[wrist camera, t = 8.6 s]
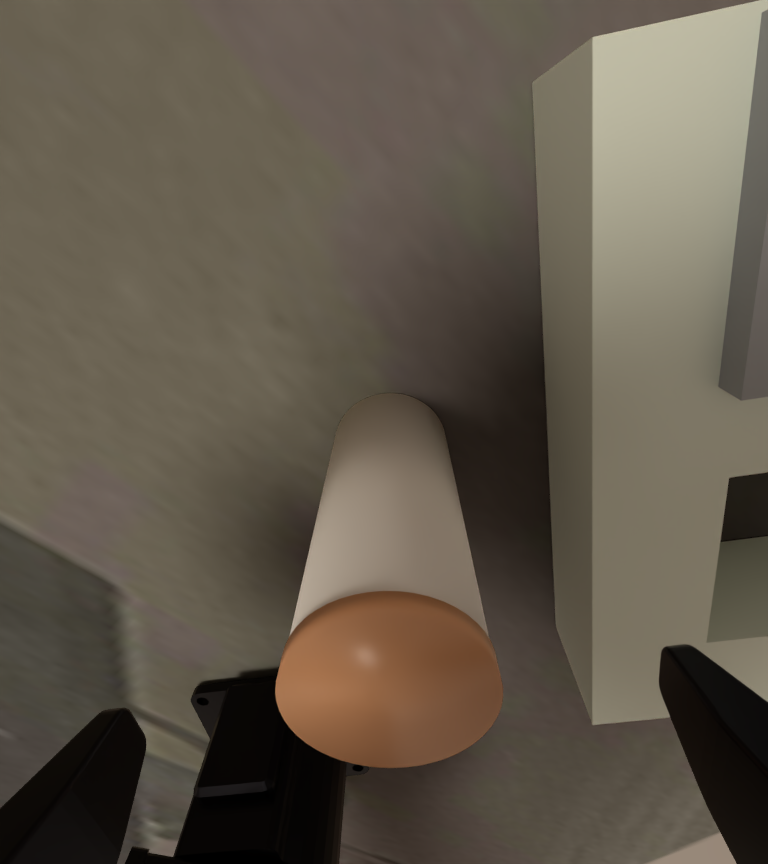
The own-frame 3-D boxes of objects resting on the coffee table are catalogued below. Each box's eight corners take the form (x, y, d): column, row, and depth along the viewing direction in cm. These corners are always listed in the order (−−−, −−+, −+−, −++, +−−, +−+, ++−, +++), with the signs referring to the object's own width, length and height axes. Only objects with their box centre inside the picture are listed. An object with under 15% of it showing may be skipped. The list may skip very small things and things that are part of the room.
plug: (454, 484, 17) (511, 757, 9) (346, 500, 17) (306, 776, 9) (439, 382, 15) (493, 600, 7) (321, 401, 16) (246, 631, 8)
